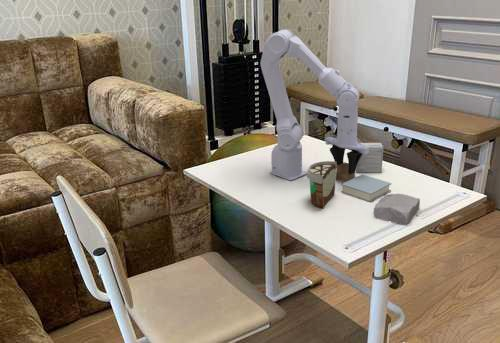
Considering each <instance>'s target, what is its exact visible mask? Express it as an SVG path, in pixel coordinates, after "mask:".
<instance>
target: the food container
mask: <svg viewBox="0 0 500 343" xmlns="http://www.w3.org/2000/svg"><path fill="white" fill-rule="evenodd" d="M336 168H337V164H336V162H335V161H334V160H333V161H332V160H325V161H319V162H315V163H313V164H310V166H309V167H308V169H307V171H306V172H307V174H306V177H307V179H308V180H309V189H310V190H309V191H310V203H311V205H312V206H313V207H315V208H318V209H322V210H324V209H325V208H326V206H327V205H328V204H329V203H330V202H331V201H332V199H333V198H334V197H335V193H336Z"/></svg>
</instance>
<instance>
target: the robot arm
mask: <svg viewBox="0 0 500 343" xmlns="http://www.w3.org/2000/svg"><path fill="white" fill-rule="evenodd" d="M262 51H263V52H262V55H261V57H260V58H261V59H260V67H261V68H260V69H261V73H262V75H263V78H264V82H265V85H266V88H267V91H268V95H269V98H270V101H271V105H272V109H273V112H274V115H275V119H276V132H277V133H276V134H277V136H276V143H277V144H276V145H275V146H274V147H273V148H272V151H271V154H270V155H271V156H270V157H271V170H270V171H269V173H270V174H271V175H274V176H278V177H280V178H283V179H285V180H288V181H294V180H296V179H299V178H301V177H304V176H305V175H306V176H307V172H308V171H306V170H303V145H302V143H301V140H302V139H303V136H304V130H303V128H302V126H301V125H300V124H299V122H298V120H297V117H296V116H295V115H294V113H293V110H292V107H291V102H290V100H289V96H288V92H287V88H286V86H285V83H284V78H283V75H282V72H281V68H280V63H281V62H282V60H283V58H284V56H286V57H289V58H297V59H298V60H299V61H300V62H302V63H303V64H304V65H305V66H306V67H307V68H308V69H309V70H310V71H312V72H313V73H314V74H315V75H316V76H317V77H318V78H317V79H318V80H317V81H318V84H319V85H320V86H321V87H322V88H323V89H324V90H325V91H327V93H328V94H329V95H331V97H332V98H334V99H336V101H335V102H336V104H337V106H338V113H337V129H336V130H337V131H336V132H337V134H336V137H332V136H328V137H326V138H325V145H327V146H329V145H330V146H331V147H330V148H329V152H330V153H331V156H332V158H333V161H334V162H336V164H337V165H340V164H342V163H344V156H345V151H346V150H349V151H348V152H347V153H346V156H347V161H348V163H349V174H353V173H355V174H356V166H357V164H358V161H359V159H360V158H361V156H362V155H363V154H364V155H366V154H368V153H369V147H367V146H365V145H363V144H361V143H362V142H358V121H359V120H358V119H359V118H358V117H359V113H358V110H359V109H358V108H359V107H358V105H359V104H358V103H359V100H360V91H359V90H358V89H357V87H356V86H354V85H352V83H351V82H350V81H349V82H348V81H347V80H345V79H344V78H343V76H341V75H340V73H341V71H340V70H338V69H334V67H326V66H325V65H324V64H323V62H321V60H320V59H319V58H318V57H317V56H316V55H315V54H314V53H313V52H312V51H311V49H309V47H308V46H307V45H306V44H305V43H304V42H303V41H302V40H301V39H300V38H299V37H298V36H297V35H295V34H294V33H293V32H292V30H290V29H287V28H284V29H283V28H282V29H279V30H278V31H277V32H276V31H275V32H273V33H271V34H270V35H269V36H268V37H267V38H266V40H265V41H264V42H263V50H262Z"/></svg>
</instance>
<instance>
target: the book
mask: <svg viewBox="0 0 500 343" xmlns="http://www.w3.org/2000/svg"><path fill="white" fill-rule="evenodd" d="M391 185H392V182H389V181H385V180H383V179H382V180H381V179H379V178H376V177H373V176H369V175H366V174H363V173H362V174H360V175H358V176H355V178H353V179H351V180H349V181H347V182H343V183H341V186H342V190H341V193H343V194H346V195H349V196H352V197H355V198H357V199H361V200H363V201H367V202H369V203H371V202H373V201H375V200H378V199H379V198H382V197H383V196H385V195H388V194H389V193H391V192H392V190H391V189H390V186H391Z"/></svg>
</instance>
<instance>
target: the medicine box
mask: <svg viewBox="0 0 500 343" xmlns="http://www.w3.org/2000/svg"><path fill="white" fill-rule="evenodd" d="M360 143H361V144H363V145H365V146H367V147H369V153H368V154H366V155H364V154H363V155H362V156H361V158H360V159H359V161H358V164H357V166H356V170H355V173H358V174H359V173H360V174H361V173H362V174H363V173H379V174H380V173H382V172H383V158H384V146H383V144H382V142H360Z"/></svg>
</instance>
